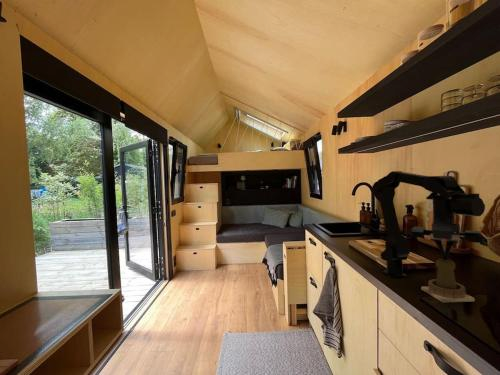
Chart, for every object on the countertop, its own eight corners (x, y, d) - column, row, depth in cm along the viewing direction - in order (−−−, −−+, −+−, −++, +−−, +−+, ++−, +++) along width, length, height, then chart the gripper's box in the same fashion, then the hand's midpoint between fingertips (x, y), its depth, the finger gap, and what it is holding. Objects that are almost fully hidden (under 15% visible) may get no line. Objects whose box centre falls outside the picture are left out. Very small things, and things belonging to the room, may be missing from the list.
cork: (430, 288, 87) (429, 257, 87) (447, 287, 87) (446, 256, 87) (445, 296, 81) (443, 262, 81) (462, 295, 81) (461, 261, 81)
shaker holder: (421, 289, 89) (421, 279, 89) (449, 288, 89) (449, 278, 89) (442, 302, 79) (442, 291, 79) (474, 301, 79) (474, 290, 79)
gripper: (406, 214, 84) (407, 260, 84) (481, 217, 72) (483, 271, 72) (412, 211, 93) (414, 253, 93) (481, 213, 80) (482, 262, 80)
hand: (445, 259), depth 84 cm, fingers closed, pressing on cork
